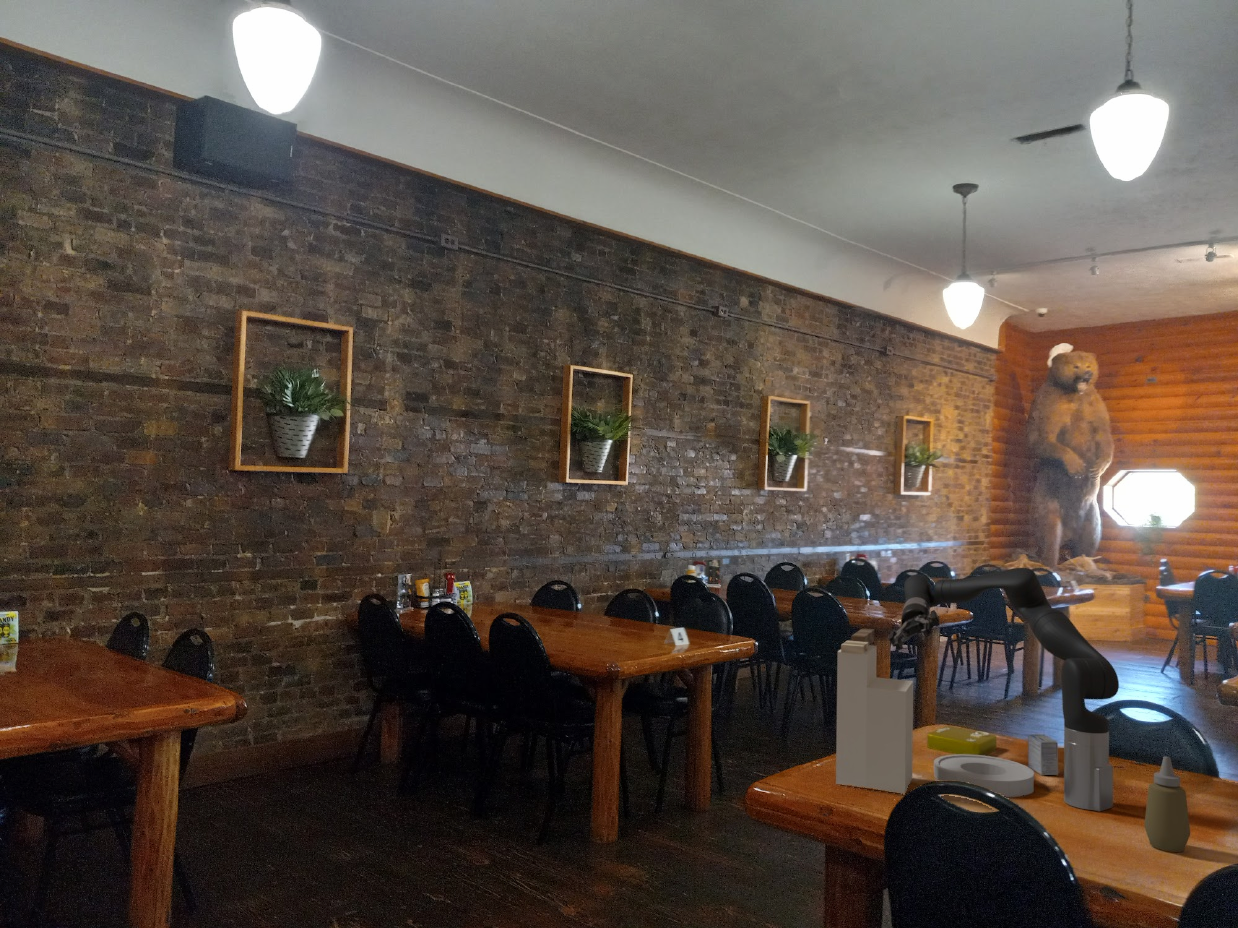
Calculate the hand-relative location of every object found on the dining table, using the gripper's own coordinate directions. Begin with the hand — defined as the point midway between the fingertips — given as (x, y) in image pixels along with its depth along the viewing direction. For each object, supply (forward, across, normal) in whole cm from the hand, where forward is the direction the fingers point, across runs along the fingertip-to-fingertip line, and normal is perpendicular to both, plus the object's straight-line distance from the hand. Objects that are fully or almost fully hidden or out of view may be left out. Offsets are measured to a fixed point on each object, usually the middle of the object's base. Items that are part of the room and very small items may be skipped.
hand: (912, 639), depth 245 cm
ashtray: (+21, -1, -33) cm, 39 cm away
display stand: (+32, +19, -16) cm, 40 cm away
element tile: (-10, +9, -38) cm, 41 cm away
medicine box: (+5, -10, -44) cm, 46 cm away
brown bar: (+19, +7, +11) cm, 23 cm away
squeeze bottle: (+51, -35, -42) cm, 75 cm away
